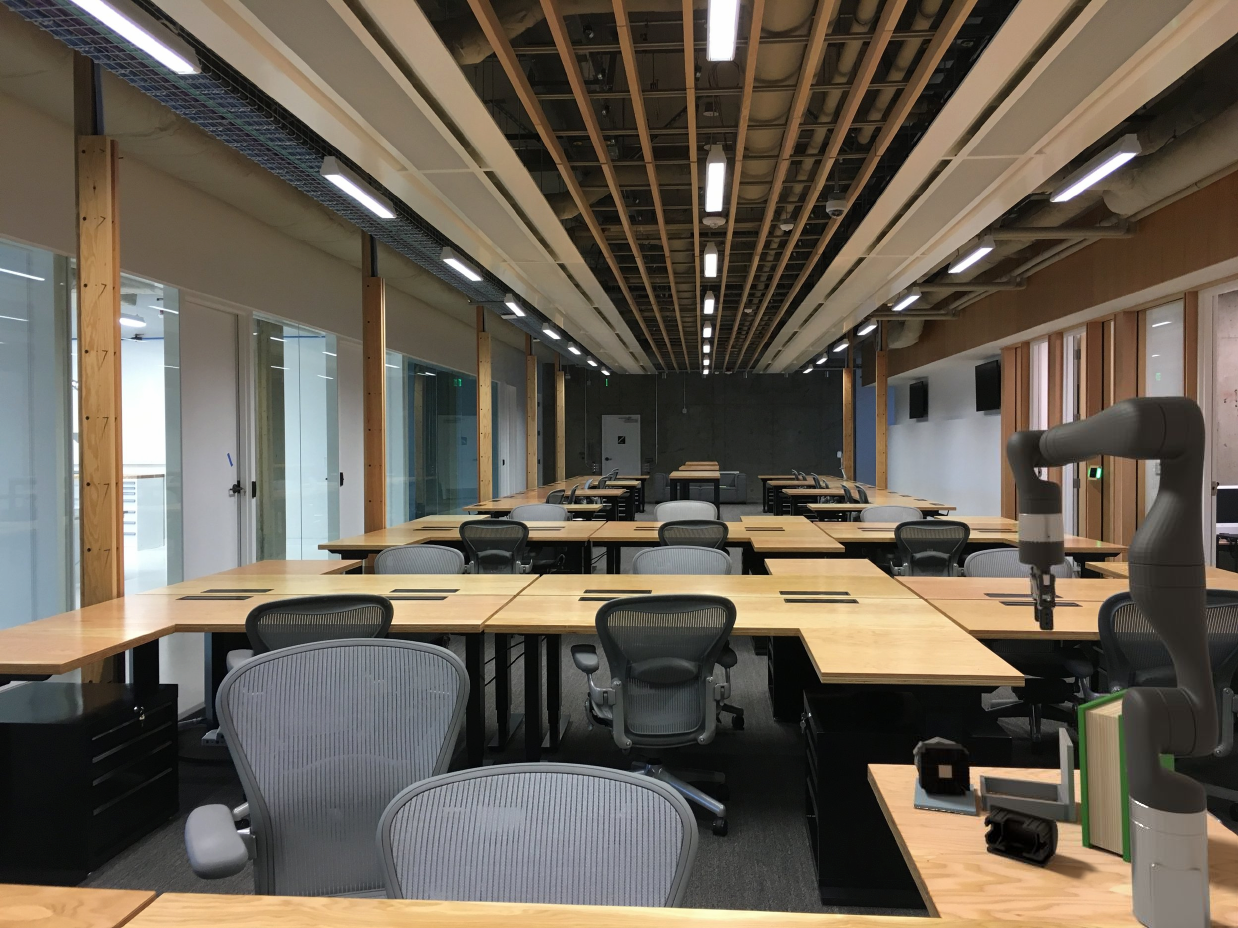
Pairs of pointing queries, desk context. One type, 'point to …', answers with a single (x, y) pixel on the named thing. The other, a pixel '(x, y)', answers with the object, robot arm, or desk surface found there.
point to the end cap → (1021, 835)
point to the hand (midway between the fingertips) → (1043, 625)
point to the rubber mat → (945, 801)
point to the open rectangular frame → (1036, 789)
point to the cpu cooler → (942, 767)
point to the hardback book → (1106, 775)
